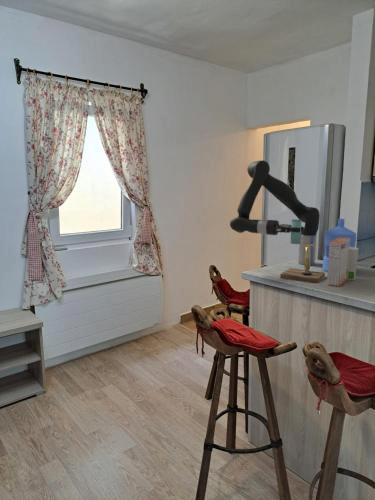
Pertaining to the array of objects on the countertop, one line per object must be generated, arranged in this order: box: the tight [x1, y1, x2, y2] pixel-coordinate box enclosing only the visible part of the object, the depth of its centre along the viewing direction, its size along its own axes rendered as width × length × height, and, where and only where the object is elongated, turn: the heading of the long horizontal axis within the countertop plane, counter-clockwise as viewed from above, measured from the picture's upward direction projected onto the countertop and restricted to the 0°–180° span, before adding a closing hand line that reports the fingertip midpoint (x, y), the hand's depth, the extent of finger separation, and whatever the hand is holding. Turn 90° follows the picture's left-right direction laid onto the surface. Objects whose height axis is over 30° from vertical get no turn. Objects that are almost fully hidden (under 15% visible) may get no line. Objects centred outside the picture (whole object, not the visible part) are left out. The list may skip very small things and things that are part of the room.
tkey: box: [302, 243, 314, 274], centre depth 182 cm, size 5×10×14 cm, turn 159°
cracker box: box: [327, 238, 351, 287], centre depth 170 cm, size 14×6×21 cm, turn 141°
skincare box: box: [347, 246, 359, 281], centre depth 179 cm, size 8×7×16 cm
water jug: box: [322, 218, 357, 273], centre depth 193 cm, size 16×16×28 cm
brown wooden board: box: [279, 268, 326, 284], centre depth 182 cm, size 15×18×2 cm
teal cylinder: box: [290, 218, 303, 245], centre depth 176 cm, size 5×5×12 cm
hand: (301, 229), depth 174 cm, fingers closed on teal cylinder, 4 cm apart
